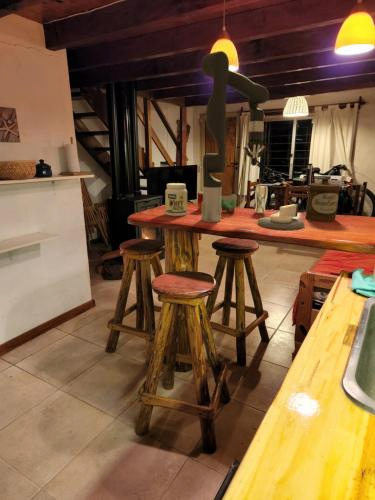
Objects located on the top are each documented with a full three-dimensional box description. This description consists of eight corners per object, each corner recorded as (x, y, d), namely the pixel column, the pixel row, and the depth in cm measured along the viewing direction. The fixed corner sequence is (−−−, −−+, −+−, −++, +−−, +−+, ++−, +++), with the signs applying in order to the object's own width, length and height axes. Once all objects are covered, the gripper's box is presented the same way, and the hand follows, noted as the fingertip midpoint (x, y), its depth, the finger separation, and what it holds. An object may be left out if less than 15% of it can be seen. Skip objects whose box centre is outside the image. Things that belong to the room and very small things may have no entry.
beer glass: (259, 213, 182) (261, 187, 177) (251, 211, 188) (253, 186, 183) (268, 212, 185) (270, 186, 180) (260, 210, 191) (262, 185, 186)
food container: (229, 214, 179) (230, 196, 176) (220, 213, 183) (220, 196, 180) (240, 211, 188) (241, 194, 185) (231, 210, 192) (231, 193, 189)
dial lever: (284, 223, 149) (285, 209, 147) (266, 220, 156) (267, 206, 154) (303, 218, 161) (305, 205, 159) (286, 215, 168) (287, 202, 166)
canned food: (206, 212, 186) (207, 193, 183) (194, 210, 190) (195, 192, 187) (212, 210, 193) (213, 191, 189) (201, 208, 197) (201, 190, 193)
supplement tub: (166, 216, 173) (165, 185, 168) (164, 212, 184) (164, 183, 179) (188, 216, 174) (188, 185, 169) (185, 212, 186) (185, 182, 181)
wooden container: (312, 221, 162) (317, 178, 156) (301, 216, 177) (305, 175, 170) (340, 221, 163) (347, 178, 157) (327, 215, 177) (332, 175, 171)
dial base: (271, 230, 143) (272, 227, 143) (250, 220, 164) (250, 217, 163) (313, 228, 149) (314, 224, 148) (287, 218, 169) (288, 215, 169)
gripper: (247, 130, 160) (245, 165, 165) (271, 130, 163) (268, 165, 168) (241, 131, 167) (239, 165, 172) (263, 131, 170) (261, 165, 175)
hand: (253, 165), depth 170 cm, fingers closed
